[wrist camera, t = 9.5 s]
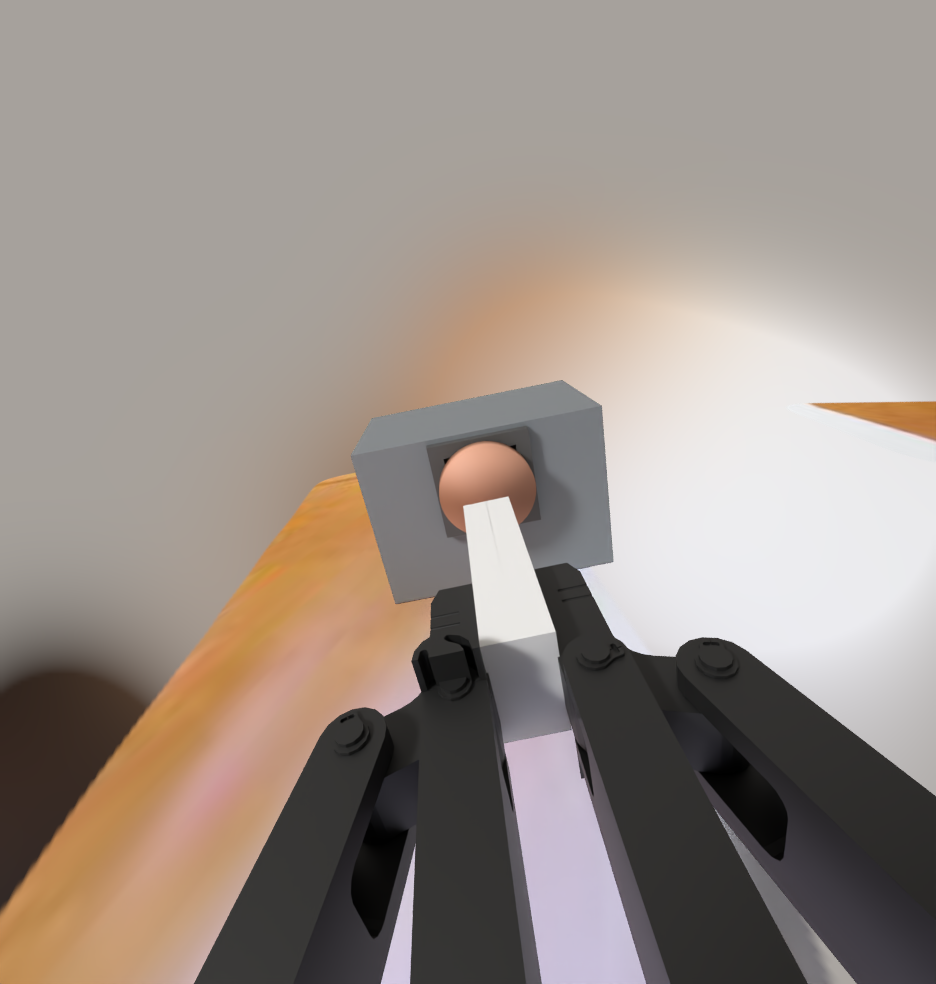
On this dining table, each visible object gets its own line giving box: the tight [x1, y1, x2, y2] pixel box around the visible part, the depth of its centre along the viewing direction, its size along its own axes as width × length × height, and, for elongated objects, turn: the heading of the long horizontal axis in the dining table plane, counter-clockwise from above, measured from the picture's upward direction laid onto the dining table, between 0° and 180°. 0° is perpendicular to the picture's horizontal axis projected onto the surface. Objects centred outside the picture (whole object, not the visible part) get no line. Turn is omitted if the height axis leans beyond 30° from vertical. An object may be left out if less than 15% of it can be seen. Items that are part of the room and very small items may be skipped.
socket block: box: [351, 380, 613, 604], centre depth 35 cm, size 11×16×12 cm, turn 94°
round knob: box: [439, 441, 536, 532], centre depth 35 cm, size 13×6×6 cm, turn 4°
